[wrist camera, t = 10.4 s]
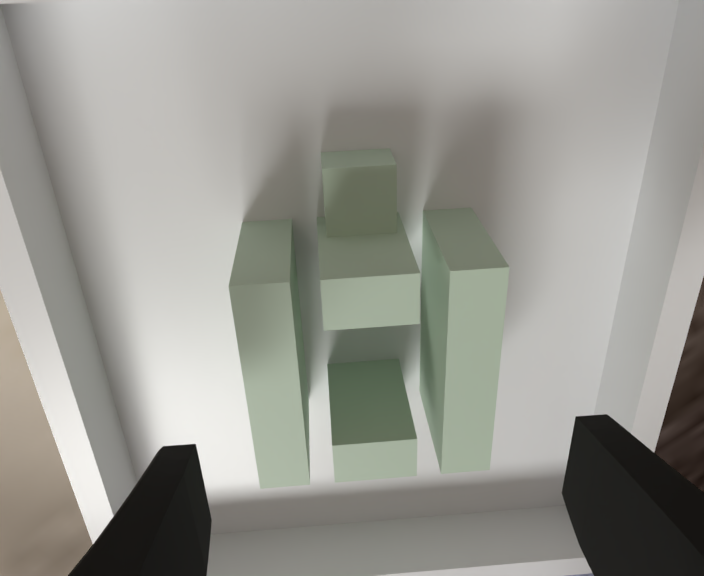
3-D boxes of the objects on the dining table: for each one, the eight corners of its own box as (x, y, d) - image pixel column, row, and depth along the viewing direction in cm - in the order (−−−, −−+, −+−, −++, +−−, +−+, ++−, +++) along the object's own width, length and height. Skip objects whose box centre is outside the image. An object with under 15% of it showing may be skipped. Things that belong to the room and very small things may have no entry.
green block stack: (460, 387, 18) (489, 469, 15) (266, 402, 18) (260, 488, 15) (475, 143, 14) (516, 191, 12) (233, 157, 14) (216, 210, 11)
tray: (588, 507, 22) (620, 570, 19) (137, 544, 21) (118, 614, 19) (718, -78, 13) (803, -82, 11) (-46, -48, 12) (-121, -46, 10)
